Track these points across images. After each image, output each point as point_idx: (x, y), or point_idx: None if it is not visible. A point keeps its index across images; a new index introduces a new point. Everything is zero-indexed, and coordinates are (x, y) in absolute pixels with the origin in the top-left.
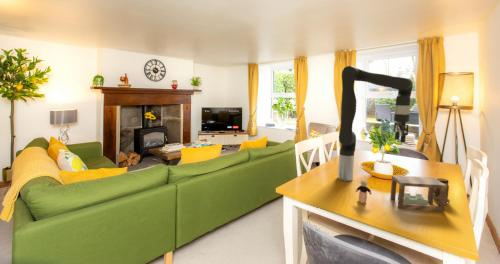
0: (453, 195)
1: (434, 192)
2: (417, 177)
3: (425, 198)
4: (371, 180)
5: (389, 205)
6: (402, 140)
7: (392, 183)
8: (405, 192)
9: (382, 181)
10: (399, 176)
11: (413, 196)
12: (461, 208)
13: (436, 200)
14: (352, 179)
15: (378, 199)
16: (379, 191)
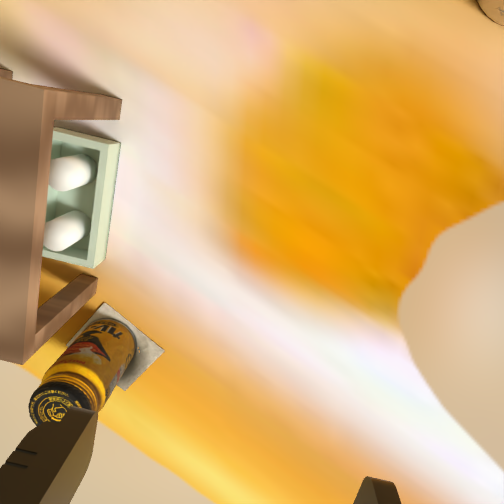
0: (177, 442)
1: (100, 340)
2: (11, 261)
3: (53, 256)
4: (451, 169)
5: (31, 36)
6: (27, 439)
7: (57, 89)
8: (66, 169)
9: (417, 233)
10: (19, 136)
11: (93, 220)
12: (34, 365)
13: (98, 321)
14: (489, 13)
15: (114, 17)
16: (244, 104)
